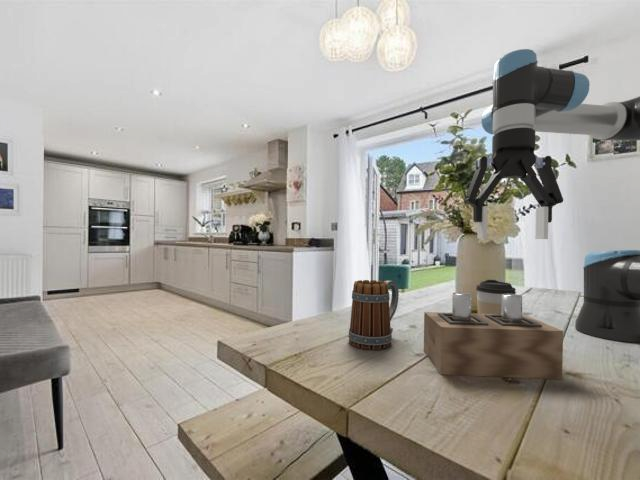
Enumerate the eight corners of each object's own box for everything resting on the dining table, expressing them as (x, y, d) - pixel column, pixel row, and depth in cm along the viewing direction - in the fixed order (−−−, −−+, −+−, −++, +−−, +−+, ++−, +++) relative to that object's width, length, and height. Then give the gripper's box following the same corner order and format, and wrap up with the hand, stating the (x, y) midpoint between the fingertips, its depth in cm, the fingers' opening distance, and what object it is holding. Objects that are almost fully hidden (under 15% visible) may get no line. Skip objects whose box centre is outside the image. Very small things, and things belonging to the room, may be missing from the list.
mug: (372, 354, 68) (373, 287, 68) (339, 341, 76) (340, 281, 76) (412, 340, 78) (413, 281, 78) (380, 330, 86) (380, 276, 86)
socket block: (523, 355, 69) (524, 313, 69) (562, 379, 57) (563, 328, 57) (423, 351, 70) (424, 310, 70) (440, 374, 58) (441, 325, 58)
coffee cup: (521, 346, 75) (522, 284, 75) (481, 343, 76) (482, 283, 76) (506, 334, 84) (507, 279, 83) (471, 332, 85) (471, 278, 85)
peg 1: (466, 332, 66) (467, 292, 66) (473, 337, 62) (474, 295, 62) (449, 331, 66) (450, 292, 66) (455, 337, 62) (456, 295, 62)
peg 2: (515, 333, 65) (516, 293, 65) (525, 339, 61) (526, 297, 61) (497, 333, 65) (498, 293, 65) (506, 338, 62) (507, 296, 62)
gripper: (560, 137, 66) (558, 239, 66) (448, 138, 68) (446, 237, 68) (588, 124, 59) (586, 239, 59) (461, 126, 60) (459, 237, 61)
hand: (511, 238), depth 63 cm, fingers open, 11 cm apart
